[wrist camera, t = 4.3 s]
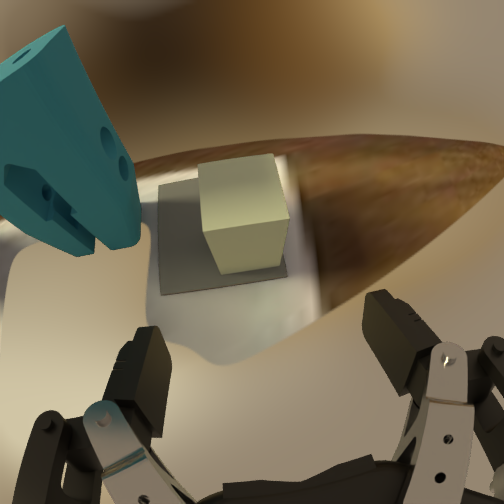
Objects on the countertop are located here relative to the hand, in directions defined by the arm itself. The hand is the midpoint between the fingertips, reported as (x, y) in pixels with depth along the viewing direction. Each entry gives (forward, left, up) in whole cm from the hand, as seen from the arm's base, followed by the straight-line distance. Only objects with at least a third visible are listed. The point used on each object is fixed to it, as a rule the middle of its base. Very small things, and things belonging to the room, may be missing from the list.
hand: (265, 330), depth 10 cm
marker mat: (-2, +11, -12) cm, 17 cm away
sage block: (0, +9, -12) cm, 15 cm away
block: (-14, +13, -13) cm, 23 cm away
